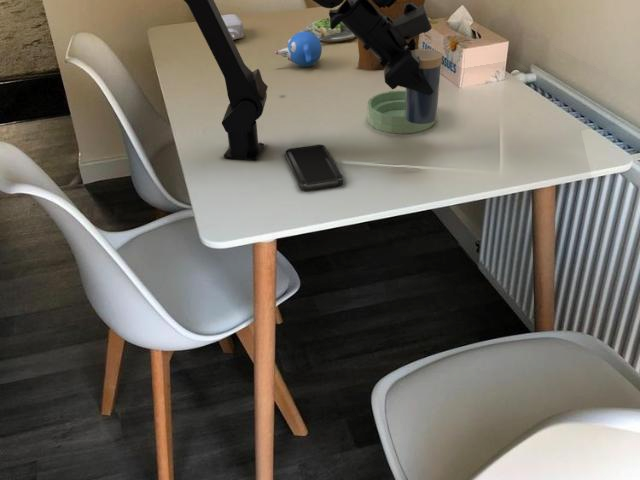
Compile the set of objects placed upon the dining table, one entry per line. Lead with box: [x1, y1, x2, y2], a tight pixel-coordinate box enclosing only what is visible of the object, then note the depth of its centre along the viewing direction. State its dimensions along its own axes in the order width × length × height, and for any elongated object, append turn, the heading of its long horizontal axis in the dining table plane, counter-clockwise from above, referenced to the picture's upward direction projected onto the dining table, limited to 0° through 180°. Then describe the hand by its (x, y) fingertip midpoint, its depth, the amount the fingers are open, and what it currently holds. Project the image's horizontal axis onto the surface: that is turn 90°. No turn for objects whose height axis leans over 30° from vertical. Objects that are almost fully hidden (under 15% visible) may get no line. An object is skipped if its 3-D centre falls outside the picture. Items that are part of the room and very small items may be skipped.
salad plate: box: [301, 17, 357, 44], centre depth 190 cm, size 19×18×5 cm
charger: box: [221, 13, 245, 41], centre depth 190 cm, size 5×9×15 cm
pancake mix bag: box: [356, 0, 426, 71], centre depth 161 cm, size 7×19×28 cm, turn 102°
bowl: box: [366, 90, 436, 135], centre depth 139 cm, size 14×14×4 cm
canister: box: [405, 48, 443, 124], centre depth 122 cm, size 6×6×12 cm
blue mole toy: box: [274, 31, 323, 68], centre depth 168 cm, size 12×12×8 cm
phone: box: [285, 144, 344, 192], centre depth 124 cm, size 8×1×15 cm
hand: (430, 86), depth 122 cm, fingers closed on canister, 6 cm apart
